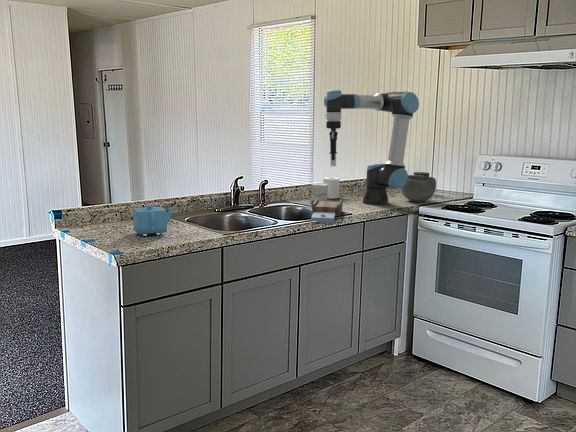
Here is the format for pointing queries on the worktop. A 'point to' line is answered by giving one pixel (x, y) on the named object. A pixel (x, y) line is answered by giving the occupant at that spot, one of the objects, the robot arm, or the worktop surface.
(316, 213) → the cover plate
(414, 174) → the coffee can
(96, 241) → the worktop surface
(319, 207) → the walnut box
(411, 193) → the bowl
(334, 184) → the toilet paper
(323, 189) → the ink box
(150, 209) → the teapot
